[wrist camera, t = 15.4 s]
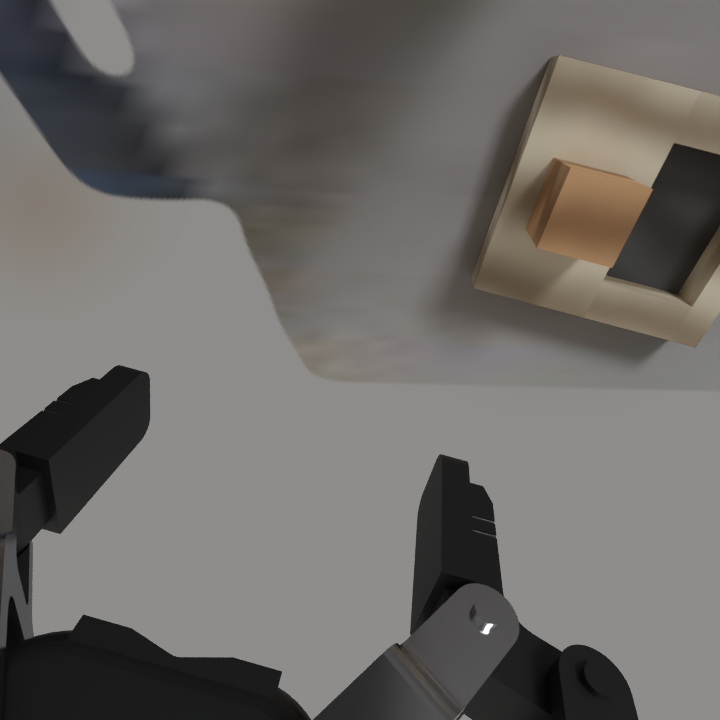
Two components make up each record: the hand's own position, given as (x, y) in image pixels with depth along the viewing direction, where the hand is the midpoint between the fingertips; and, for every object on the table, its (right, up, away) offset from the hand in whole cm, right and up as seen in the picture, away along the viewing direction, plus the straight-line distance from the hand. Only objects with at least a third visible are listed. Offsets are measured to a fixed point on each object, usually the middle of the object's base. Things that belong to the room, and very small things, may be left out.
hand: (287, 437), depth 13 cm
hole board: (+22, +14, +23) cm, 35 cm away
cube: (+17, +13, +21) cm, 30 cm away
